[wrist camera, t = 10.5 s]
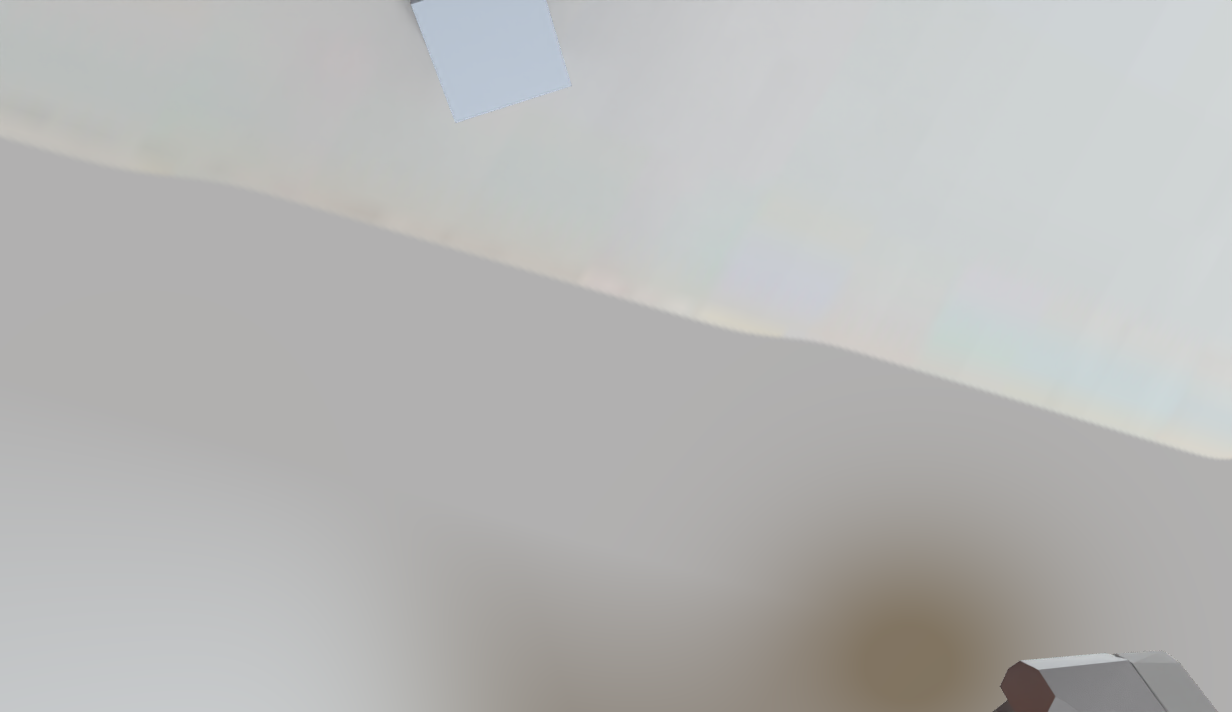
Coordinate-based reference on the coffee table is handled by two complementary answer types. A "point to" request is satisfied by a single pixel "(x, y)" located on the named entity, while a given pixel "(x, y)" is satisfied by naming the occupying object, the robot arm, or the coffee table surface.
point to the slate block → (491, 52)
